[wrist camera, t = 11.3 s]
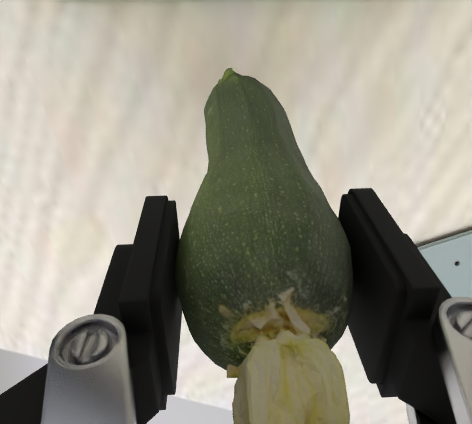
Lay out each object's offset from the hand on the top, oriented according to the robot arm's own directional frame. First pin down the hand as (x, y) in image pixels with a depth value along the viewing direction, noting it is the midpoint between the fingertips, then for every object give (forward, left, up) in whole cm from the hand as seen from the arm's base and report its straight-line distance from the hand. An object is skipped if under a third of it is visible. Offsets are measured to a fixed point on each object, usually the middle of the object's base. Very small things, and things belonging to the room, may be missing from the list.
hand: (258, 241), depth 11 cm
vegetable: (0, 0, -13) cm, 13 cm away
